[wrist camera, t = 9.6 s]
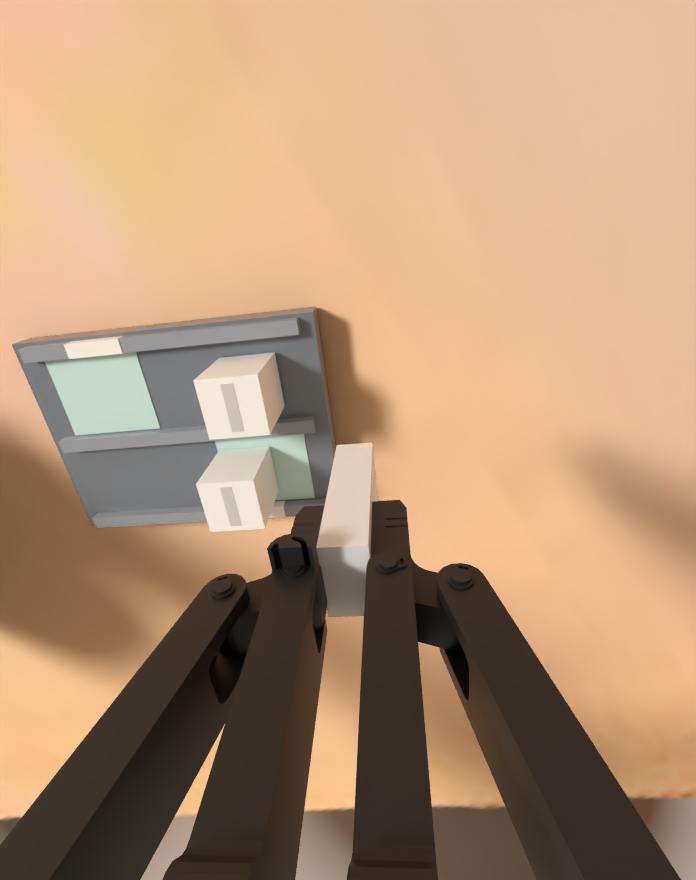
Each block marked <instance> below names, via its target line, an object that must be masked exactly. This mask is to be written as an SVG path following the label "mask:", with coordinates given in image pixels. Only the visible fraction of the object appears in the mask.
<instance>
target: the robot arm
mask: <svg viewBox="0 0 696 880" xmlns="http://www.w3.org/2000/svg"><path fill="white" fill-rule="evenodd" d="M267 550H268V554H269V558H270V562H271V567H272V573H271V574H270V575H269V576H267V577H265V578H262V579H259V580H255V581H252V582H248V583H246V581H245V580H244V578H243V577H242V576H239V575H237V574H225V575H222V576H218V577H217V578H215V579H213V580H211V581H210V582H209V583H208V584H207V585H206V586H204V588H203V589H202V590H201V591H200V593H199V594H198V595H197V597H196V598H195V599H194V600H193V602H192V603H191V604H190V605H189V607H188V608H187V609H186V610H185V612H184V613H183V614H182V616H181V617H180V618H179V619H178V621H177V622H176V623H175V624H174V626H173V627H172V628H171V629H170V631H169V632H168V633H167V635H166V636H165V637H164V638H163V640H162V641H161V642H160V643H159V645H158V646H157V647H156V648H155V650H154V651H153V652H152V653H151V655H150V656H149V657H148V659H147V660H146V661H145V662H144V664H143V665H142V666H141V667H140V669H139V670H138V671H137V672H136V674H135V675H134V676H133V678H132V679H131V680H130V681H129V683H128V684H127V685H126V686H125V688H124V689H123V690H122V691H121V693H120V694H119V695H118V697H117V698H116V699H115V700H114V702H113V703H112V704H111V705H110V707H109V708H108V709H107V710H106V712H105V713H104V714H103V716H102V717H101V718H100V719H99V721H98V722H97V723H96V724H95V726H94V727H93V728H92V729H91V731H90V732H89V733H88V735H87V736H86V737H85V738H84V740H83V741H82V742H81V743H80V745H79V746H78V747H77V748H76V750H75V751H74V752H73V754H72V755H71V756H70V757H69V759H68V760H67V761H66V762H65V764H64V765H63V766H62V767H61V769H60V770H59V771H58V773H57V774H56V775H55V776H54V778H53V779H52V780H51V781H50V783H49V784H48V785H47V786H46V788H45V789H44V790H43V792H42V793H41V794H40V795H39V797H38V798H37V799H36V800H35V802H34V803H33V804H32V805H31V807H30V808H29V809H28V810H27V812H26V813H25V814H24V816H23V817H22V818H21V819H20V821H19V822H18V823H17V824H16V826H15V827H14V828H13V830H12V831H11V832H10V833H9V835H8V836H7V837H6V839H5V840H4V841H3V842H2V843H1V845H0V880H140V879H141V877H142V875H143V874H144V872H145V870H146V868H147V866H148V864H149V863H150V861H151V859H152V857H153V855H154V853H155V851H156V850H157V848H158V846H159V844H160V842H161V840H162V839H163V837H164V835H165V833H166V831H167V829H168V827H169V825H170V824H171V822H172V820H173V818H174V816H175V815H176V813H177V811H178V809H179V807H180V805H181V803H182V802H183V800H184V798H185V796H186V794H187V792H188V791H189V789H190V787H191V785H192V783H193V781H194V779H195V778H196V776H197V774H198V772H199V770H200V768H201V767H202V765H203V763H204V761H205V759H206V757H207V756H208V754H209V752H210V750H211V748H212V746H213V744H214V743H215V741H216V739H217V737H218V735H219V733H220V732H221V730H222V728H223V726H224V724H225V726H224V729H223V733H222V736H221V739H220V742H219V746H218V749H217V752H216V755H215V759H214V762H213V765H212V768H211V772H210V775H209V778H208V781H207V785H206V788H205V791H204V794H203V798H202V801H201V804H200V807H199V811H198V814H197V817H196V821H195V824H194V827H193V830H192V834H191V837H190V840H189V842H188V845H187V848H186V850H185V851H184V853H183V854H182V855H181V856H180V857H179V858H177V859H175V860H174V861H172V863H171V864H170V866H169V868H168V869H167V871H166V873H165V875H164V878H163V880H295V876H296V868H297V860H298V853H299V844H300V837H301V829H302V822H303V814H304V806H305V798H306V791H307V783H308V775H309V767H310V760H311V752H312V744H313V736H314V729H315V721H316V713H317V705H318V698H319V690H320V682H321V674H322V667H323V659H324V651H325V643H326V636H327V626H326V620H325V615H326V608H327V610H328V616H329V617H341V616H364V628H363V649H362V670H361V691H360V712H359V733H358V754H357V775H356V796H355V818H354V839H353V853H352V860H351V862H350V864H349V868H348V875H347V880H438V875H437V865H436V855H435V843H434V832H433V819H432V807H431V795H430V782H429V770H428V758H427V746H426V734H425V722H424V710H423V698H422V686H421V674H420V662H419V649H418V642H422V643H425V644H429V645H433V646H436V647H440V652H441V655H442V657H443V659H444V662H445V664H446V666H447V669H448V671H449V673H450V676H451V678H452V681H453V683H454V685H455V688H456V690H457V692H458V695H459V697H460V699H461V702H462V704H463V707H464V709H465V711H466V714H467V716H468V718H469V721H470V723H471V725H472V728H473V730H474V733H475V735H476V737H477V740H478V742H479V744H480V747H481V749H482V752H483V754H484V756H485V759H486V761H487V763H488V766H489V768H490V770H491V773H492V775H493V778H494V780H495V782H496V785H497V787H498V789H499V792H500V794H501V796H502V799H503V801H504V804H505V806H506V808H507V811H508V813H509V815H510V818H511V820H512V822H513V825H514V827H515V830H516V832H517V834H518V836H519V839H520V841H521V844H522V846H523V848H524V851H525V853H526V855H527V858H528V860H529V863H530V865H531V867H532V870H533V872H534V874H535V876H536V879H537V880H681V879H680V878H679V876H678V874H677V873H676V871H675V870H674V868H673V867H672V865H671V864H670V862H669V861H668V859H667V857H666V856H665V855H664V853H663V851H662V850H661V848H660V847H659V845H658V843H657V842H656V841H655V839H654V837H653V836H652V834H651V833H650V831H649V830H648V828H647V827H646V825H645V823H644V822H643V820H642V819H641V817H640V816H639V814H638V813H637V811H636V809H635V808H634V806H633V805H632V803H631V802H630V800H629V799H628V797H627V796H626V794H625V792H624V791H623V789H622V788H621V786H620V785H619V783H618V782H617V780H616V779H615V777H614V775H613V774H612V772H611V771H610V769H609V768H608V766H607V765H606V763H605V762H604V760H603V758H602V757H601V755H600V754H599V752H598V751H597V749H596V748H595V746H594V744H593V743H592V741H591V740H590V738H589V737H588V735H587V734H586V732H585V731H584V729H583V727H582V726H581V724H580V723H579V721H578V720H577V718H576V717H575V715H574V714H573V712H572V710H571V709H570V707H569V706H568V704H567V703H566V701H565V700H564V698H563V697H562V695H561V693H560V692H559V690H558V689H557V687H556V686H555V684H554V683H553V681H552V680H551V678H550V676H549V675H548V673H547V672H546V670H545V669H544V667H543V666H542V664H541V663H540V661H539V659H538V658H537V656H536V655H535V653H534V652H533V650H532V649H531V647H530V646H529V644H528V642H527V641H526V639H525V638H524V636H523V635H522V633H521V632H520V630H519V628H518V627H517V625H516V624H515V622H514V621H513V619H512V618H511V616H510V615H509V613H508V611H507V610H506V608H505V607H504V605H503V604H502V602H501V601H500V599H499V598H498V596H497V594H496V593H495V591H494V590H493V588H492V587H491V585H490V584H489V582H488V581H487V579H486V577H485V576H484V575H483V573H482V572H481V571H480V570H479V569H477V568H475V567H473V566H471V565H467V564H462V563H458V564H450V565H448V566H445V567H443V568H442V569H441V570H440V571H439V572H438V573H436V572H431V571H428V570H425V569H423V568H421V567H419V566H418V565H416V564H415V563H414V561H413V560H412V558H411V555H410V545H409V533H408V522H407V510H406V507H405V506H404V505H403V503H402V502H401V501H400V500H391V501H378V493H377V483H376V473H375V463H374V453H373V443H359V444H345V445H337V446H336V451H335V456H334V461H333V466H332V471H331V476H330V481H329V486H328V491H327V496H326V501H325V505H320V506H304V507H303V508H302V509H301V510H300V511H299V512H298V513H297V514H296V517H295V520H294V524H293V527H292V530H291V534H288V535H284V536H281V537H279V538H277V539H275V540H274V541H273V542H272V543H271V544H270V545H269V547H268V548H267ZM225 722H226V723H225Z"/></svg>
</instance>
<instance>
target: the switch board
mask: <svg viewBox="0 0 696 880" xmlns="http://www.w3.org/2000/svg"><path fill="white" fill-rule="evenodd" d="M12 346H13V348H14V351H15V353H16V355H17V357H18V360H19V362H20V364H21V366H22V369H23V371H24V373H25V376H26V378H27V380H28V382H29V385H30V387H31V389H32V391H33V394H34V396H35V398H36V400H37V403H38V405H39V407H40V409H41V412H42V414H43V416H44V418H45V421H46V423H47V425H48V427H49V430H50V432H51V434H52V437H53V439H54V441H55V443H56V446H57V448H58V450H59V452H60V455H61V457H62V459H63V461H64V464H65V466H66V468H67V470H68V473H69V475H70V477H71V479H72V482H73V484H74V486H75V488H76V491H77V493H78V495H79V497H80V500H81V502H82V504H83V507H84V509H85V511H86V513H87V516H88V518H89V520H90V522H91V525H95V526H96V528H107V527H123V526H139V525H156V524H172V523H189V522H205V521H207V519H206V516H205V512H204V509H203V506H202V503H201V499H200V496H199V493H198V489H197V486H196V483H197V482H198V480H199V479H200V477H201V476H202V475H203V473H204V472H205V470H206V469H207V467H208V466H209V464H210V463H211V462H212V460H213V459H214V457H215V456H216V454H217V453H218V451H219V450H229V449H242V448H255V447H268V446H269V447H270V452H271V456H272V461H273V466H274V470H275V475H276V480H277V484H278V489H279V491H278V494H277V497H276V499H275V502H274V505H273V508H272V510H271V513H270V516H269V518H281V517H287V516H296V514H297V513H298V512H299V511H300V510H301V509H302V508H303V507H304V506H320V505H325V501H326V496H327V491H328V486H329V481H330V476H331V471H332V466H333V461H334V456H335V451H336V443H335V436H334V429H333V422H332V415H331V408H330V401H329V394H328V387H327V380H326V373H325V366H324V359H323V352H322V345H321V338H320V330H319V323H318V316H317V309H316V307H310V308H301V309H292V310H283V311H273V312H264V313H255V314H246V315H237V316H228V317H219V318H210V319H200V320H191V321H182V322H173V323H164V324H155V325H146V326H137V327H128V328H118V329H109V330H100V331H91V332H82V333H73V334H64V335H55V336H45V337H36V338H30V339H27V340H24V341H21V342H18V343H15V344H12ZM273 352H275V356H276V361H277V367H278V372H279V377H280V383H281V388H282V393H283V399H284V404H285V406H284V408H283V410H282V412H281V414H280V416H279V418H278V420H277V422H276V424H275V426H274V428H273V430H272V432H271V434H270V435H263V436H251V437H238V438H226V439H213V440H209V436H208V432H207V429H206V425H205V421H204V418H203V414H202V411H201V407H200V403H199V400H198V396H197V392H196V389H195V385H194V382H193V380H194V379H196V378H197V377H198V376H199V375H200V374H201V373H202V372H204V371H205V370H206V369H207V368H208V367H209V366H211V365H212V364H213V363H214V362H215V361H216V360H217V359H219V358H223V357H233V356H243V355H253V354H263V353H273Z"/></svg>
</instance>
